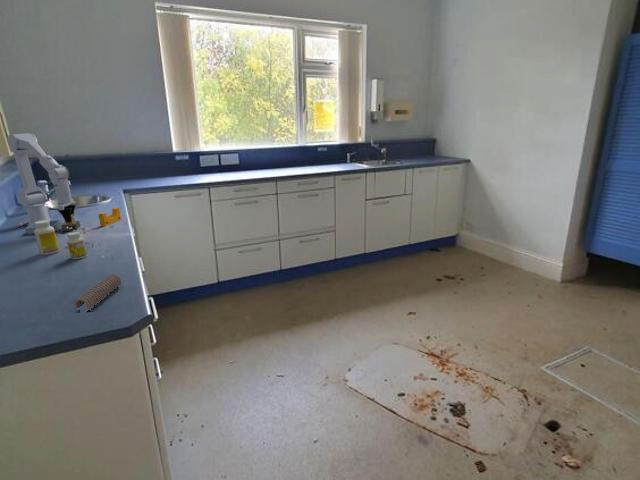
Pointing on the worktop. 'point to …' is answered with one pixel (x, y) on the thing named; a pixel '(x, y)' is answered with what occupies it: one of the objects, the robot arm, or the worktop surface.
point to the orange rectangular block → (71, 220)
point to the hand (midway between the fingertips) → (70, 221)
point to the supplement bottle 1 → (46, 238)
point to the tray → (55, 224)
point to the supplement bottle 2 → (76, 245)
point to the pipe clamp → (109, 217)
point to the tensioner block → (70, 226)
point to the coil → (98, 291)
